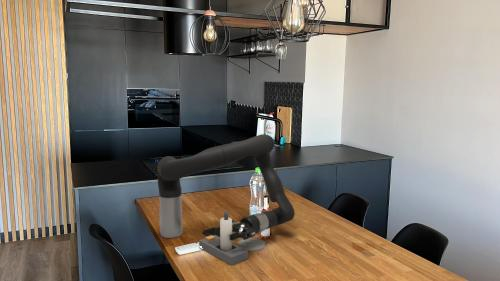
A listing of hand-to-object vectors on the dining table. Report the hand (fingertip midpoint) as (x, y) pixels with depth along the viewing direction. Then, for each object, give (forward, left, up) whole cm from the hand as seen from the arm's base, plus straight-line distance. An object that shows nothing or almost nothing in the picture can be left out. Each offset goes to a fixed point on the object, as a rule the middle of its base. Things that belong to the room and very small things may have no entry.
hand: (222, 234), depth 147 cm
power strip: (-2, +2, -9) cm, 9 cm away
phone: (-16, +11, -9) cm, 21 cm away
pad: (0, +15, -9) cm, 17 cm away
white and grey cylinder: (0, +2, -9) cm, 9 cm away
